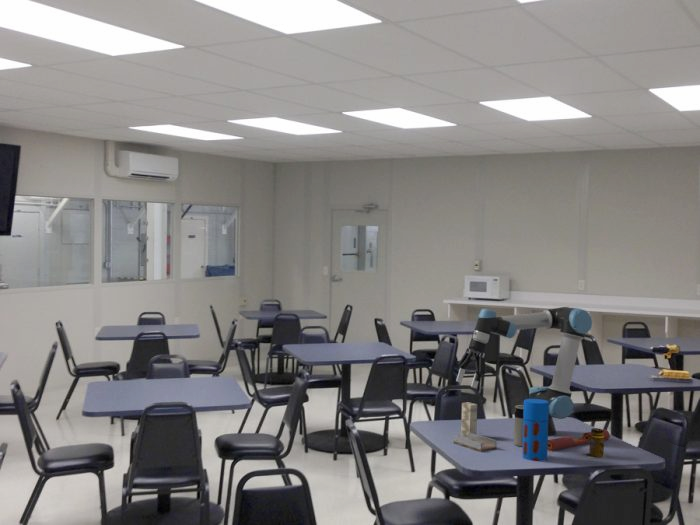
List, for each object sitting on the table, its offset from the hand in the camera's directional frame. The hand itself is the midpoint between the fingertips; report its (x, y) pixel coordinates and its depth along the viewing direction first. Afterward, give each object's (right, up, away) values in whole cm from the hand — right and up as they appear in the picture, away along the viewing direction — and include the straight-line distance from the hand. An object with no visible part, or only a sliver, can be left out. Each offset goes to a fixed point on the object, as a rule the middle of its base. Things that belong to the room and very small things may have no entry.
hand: (466, 384), depth 361 cm
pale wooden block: (+4, -28, +16) cm, 32 cm away
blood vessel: (+54, -30, +5) cm, 62 cm away
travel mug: (+27, -29, +2) cm, 39 cm away
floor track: (+4, -28, -3) cm, 28 cm away
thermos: (+27, -29, -21) cm, 45 cm away
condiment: (+55, -30, -15) cm, 64 cm away
